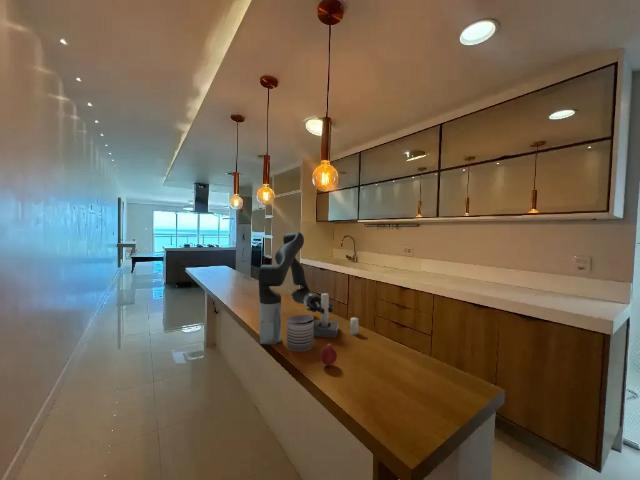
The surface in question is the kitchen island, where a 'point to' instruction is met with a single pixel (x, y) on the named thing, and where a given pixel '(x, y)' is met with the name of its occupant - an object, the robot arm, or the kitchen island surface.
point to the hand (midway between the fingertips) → (327, 311)
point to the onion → (328, 355)
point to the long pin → (325, 309)
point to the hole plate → (325, 329)
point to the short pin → (354, 326)
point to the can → (300, 332)
